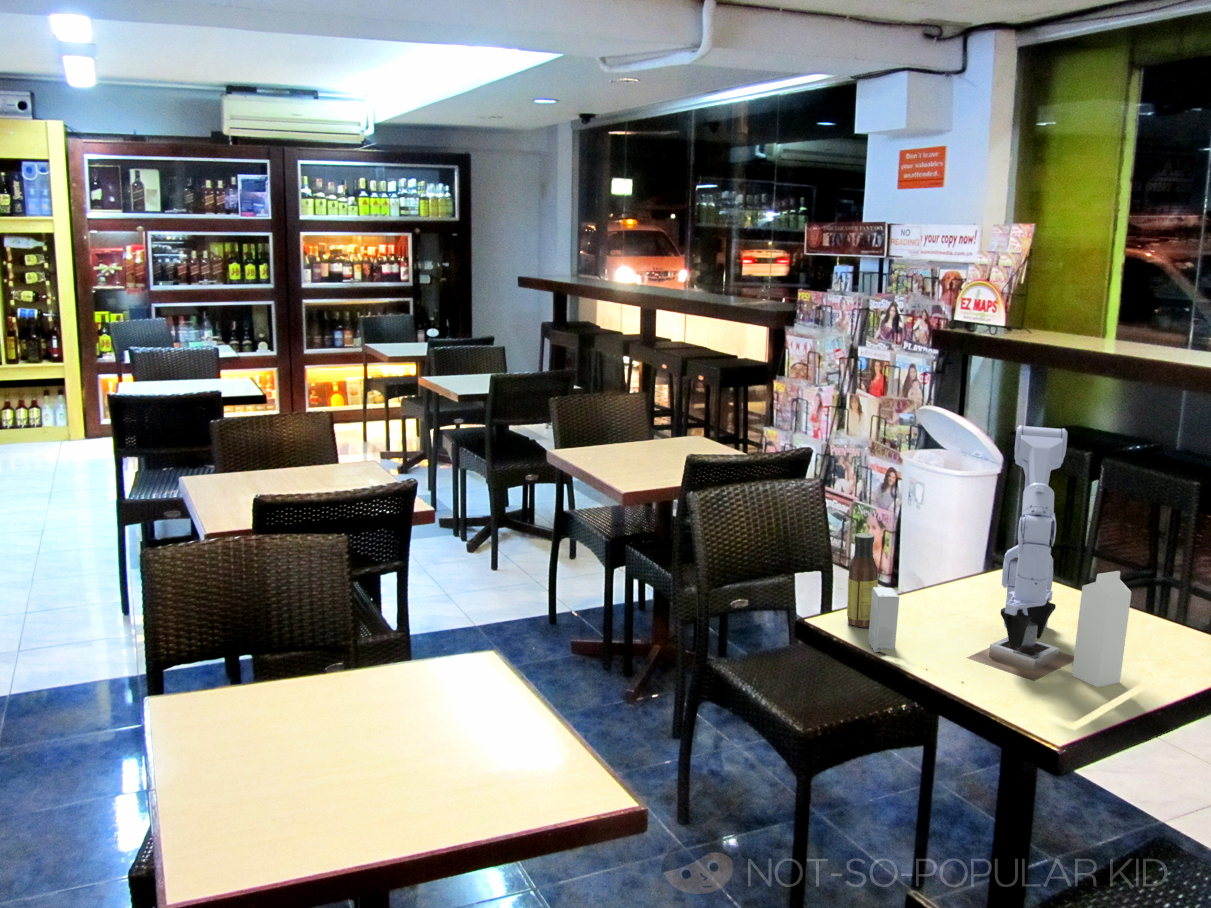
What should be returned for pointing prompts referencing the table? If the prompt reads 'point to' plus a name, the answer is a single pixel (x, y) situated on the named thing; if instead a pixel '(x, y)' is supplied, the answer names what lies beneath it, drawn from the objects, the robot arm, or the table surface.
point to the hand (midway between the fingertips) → (1024, 641)
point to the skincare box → (883, 618)
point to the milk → (1102, 630)
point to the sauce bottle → (861, 581)
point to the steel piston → (1028, 640)
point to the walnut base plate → (1020, 671)
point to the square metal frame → (1041, 658)
